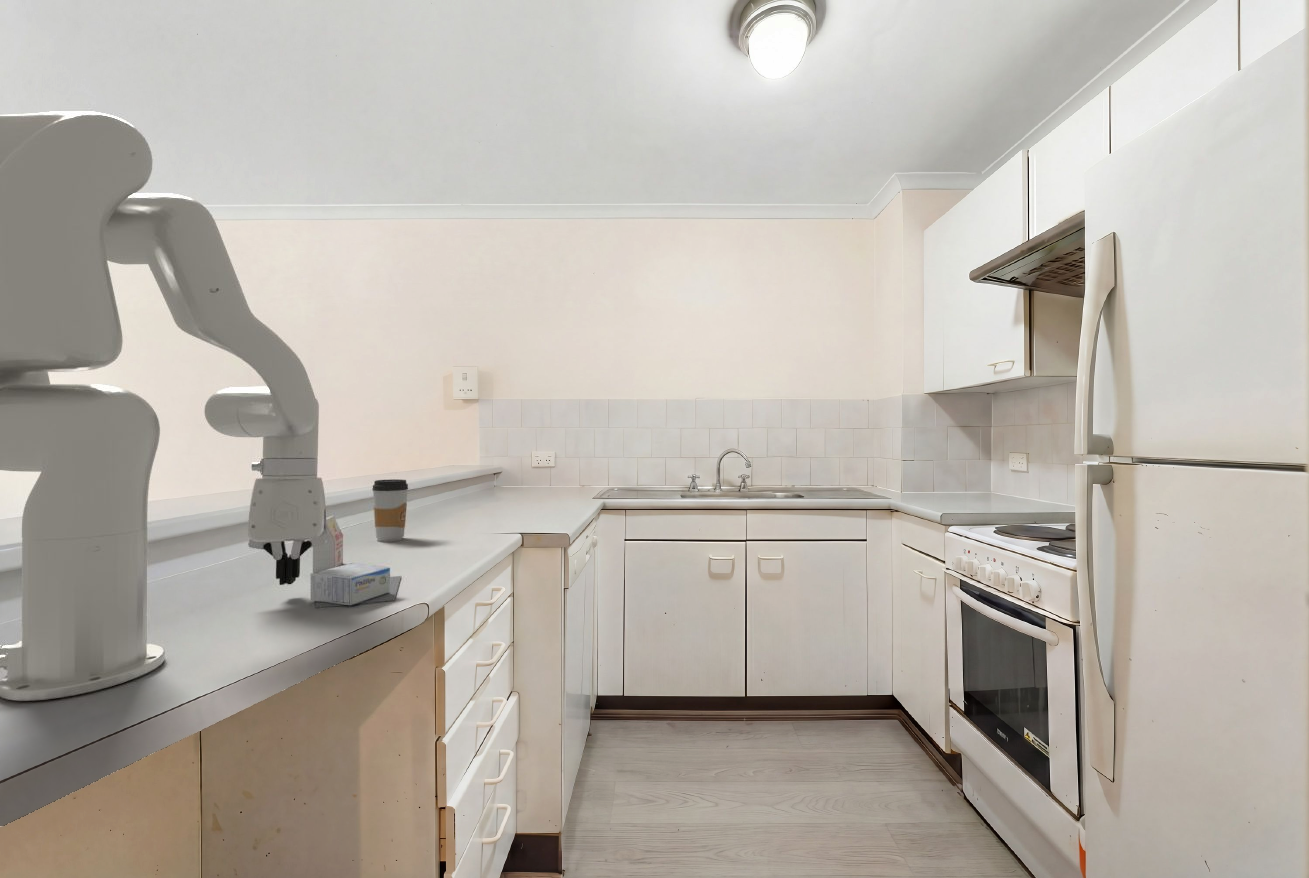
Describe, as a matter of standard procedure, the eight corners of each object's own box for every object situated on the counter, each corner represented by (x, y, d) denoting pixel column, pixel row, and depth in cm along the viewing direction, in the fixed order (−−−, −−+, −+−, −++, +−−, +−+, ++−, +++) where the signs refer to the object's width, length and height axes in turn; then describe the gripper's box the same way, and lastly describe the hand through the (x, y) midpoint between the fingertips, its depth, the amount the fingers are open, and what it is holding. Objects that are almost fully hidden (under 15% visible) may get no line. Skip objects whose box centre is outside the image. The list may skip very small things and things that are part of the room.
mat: (315, 607, 85) (315, 606, 85) (333, 582, 99) (333, 580, 99) (394, 600, 89) (394, 599, 89) (401, 576, 103) (401, 575, 103)
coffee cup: (398, 542, 137) (399, 481, 137) (365, 542, 137) (365, 481, 137) (413, 536, 145) (414, 479, 145) (382, 536, 145) (382, 479, 145)
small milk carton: (312, 572, 107) (313, 520, 107) (322, 564, 113) (323, 515, 113) (334, 571, 108) (334, 519, 108) (342, 563, 114) (343, 515, 114)
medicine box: (308, 600, 87) (350, 606, 85) (309, 572, 87) (351, 577, 85) (351, 588, 95) (391, 593, 92) (351, 562, 95) (391, 566, 92)
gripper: (226, 470, 84) (223, 592, 84) (338, 470, 89) (336, 584, 89) (243, 468, 91) (240, 581, 91) (346, 468, 96) (343, 574, 96)
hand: (287, 582), depth 90 cm, fingers closed
